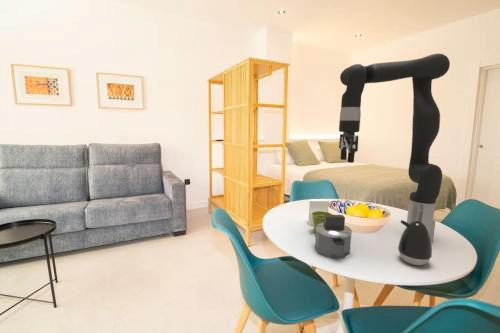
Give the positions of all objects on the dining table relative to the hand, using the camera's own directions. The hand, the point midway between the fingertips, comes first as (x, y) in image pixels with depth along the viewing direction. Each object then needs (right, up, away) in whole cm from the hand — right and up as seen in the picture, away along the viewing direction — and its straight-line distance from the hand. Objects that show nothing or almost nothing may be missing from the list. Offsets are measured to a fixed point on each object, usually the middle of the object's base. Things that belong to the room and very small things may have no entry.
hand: (346, 161), depth 104 cm
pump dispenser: (+20, -37, -10) cm, 43 cm away
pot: (-7, -35, -2) cm, 36 cm away
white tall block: (-5, -31, +25) cm, 40 cm away
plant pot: (-6, -32, +14) cm, 36 cm away
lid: (-6, -27, -4) cm, 28 cm away
